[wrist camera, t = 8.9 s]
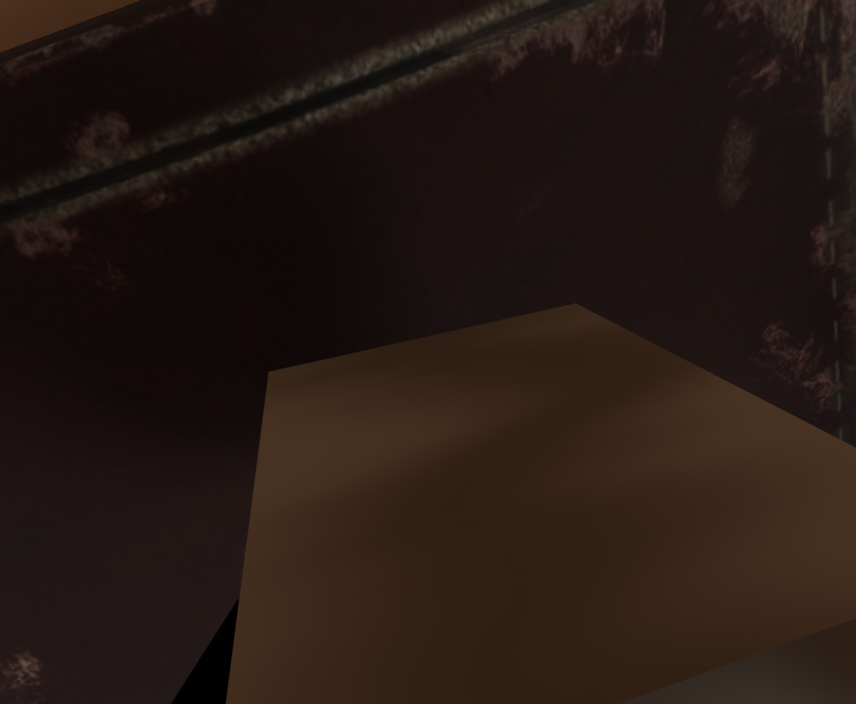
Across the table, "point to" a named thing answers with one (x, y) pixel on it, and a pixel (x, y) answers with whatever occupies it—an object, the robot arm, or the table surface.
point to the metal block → (542, 530)
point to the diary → (370, 254)
